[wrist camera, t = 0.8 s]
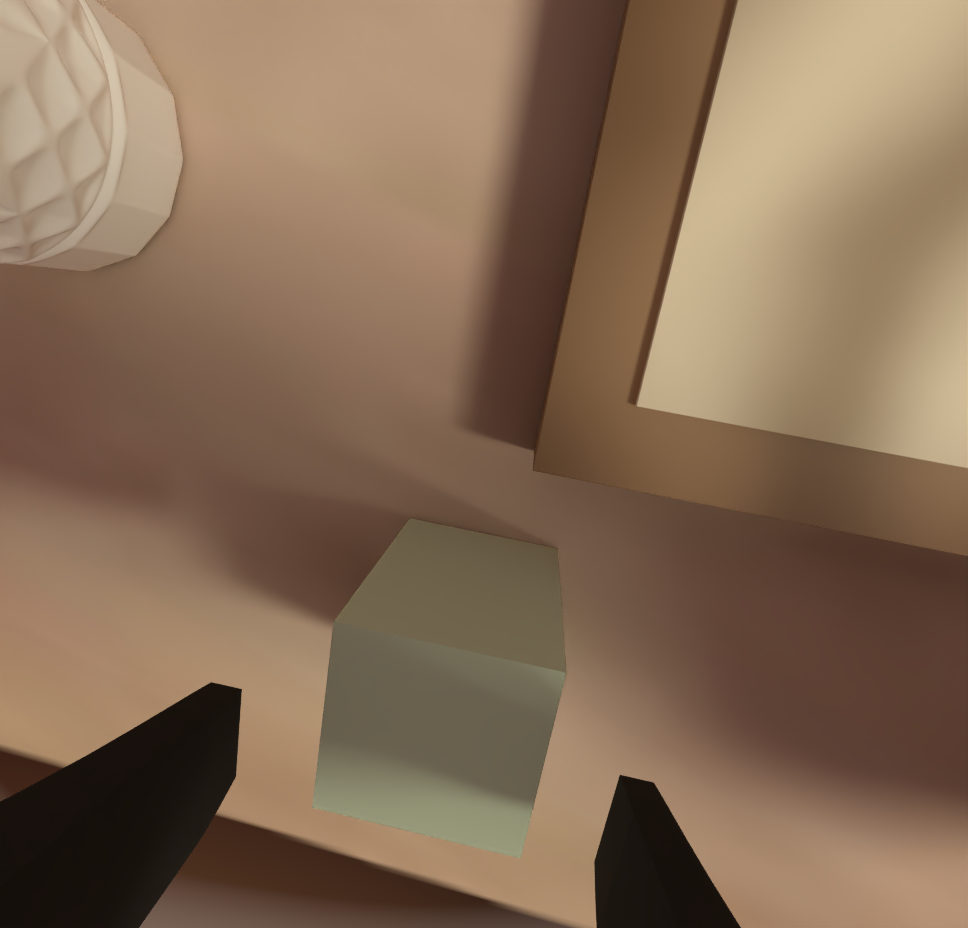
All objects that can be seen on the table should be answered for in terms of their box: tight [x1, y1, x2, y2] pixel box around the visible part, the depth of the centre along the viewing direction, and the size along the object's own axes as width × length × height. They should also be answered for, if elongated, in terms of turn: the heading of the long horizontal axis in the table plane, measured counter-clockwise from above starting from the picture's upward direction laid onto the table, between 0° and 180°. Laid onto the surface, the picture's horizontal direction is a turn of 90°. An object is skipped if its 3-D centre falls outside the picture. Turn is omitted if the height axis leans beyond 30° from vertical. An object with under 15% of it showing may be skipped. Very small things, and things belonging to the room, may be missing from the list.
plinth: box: [533, 0, 968, 556], centre depth 12 cm, size 14×14×2 cm
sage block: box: [312, 518, 566, 858], centre depth 13 cm, size 4×4×6 cm
